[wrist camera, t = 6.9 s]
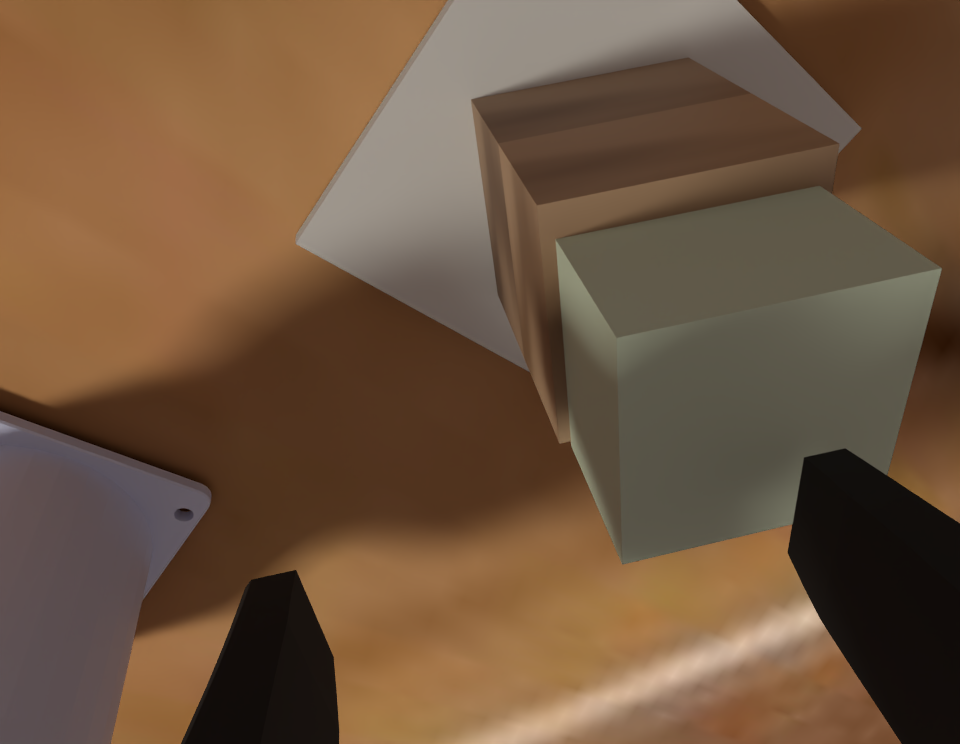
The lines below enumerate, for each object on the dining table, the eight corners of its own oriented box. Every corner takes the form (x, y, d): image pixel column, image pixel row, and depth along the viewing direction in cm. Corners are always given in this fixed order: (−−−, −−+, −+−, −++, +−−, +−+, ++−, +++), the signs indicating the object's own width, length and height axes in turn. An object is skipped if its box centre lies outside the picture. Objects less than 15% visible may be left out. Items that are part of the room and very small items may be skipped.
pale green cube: (788, 397, 15) (879, 503, 13) (571, 446, 15) (622, 564, 12) (819, 185, 12) (942, 268, 10) (555, 238, 12) (616, 337, 10)
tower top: (734, 312, 17) (802, 388, 15) (524, 358, 17) (559, 443, 15) (751, 93, 15) (840, 143, 12) (498, 143, 14) (536, 205, 12)
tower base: (683, 255, 20) (734, 312, 17) (497, 294, 20) (524, 358, 17) (688, 57, 17) (751, 93, 15) (470, 99, 17) (498, 143, 14)
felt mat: (593, 399, 23) (598, 409, 22) (295, 234, 18) (295, 243, 18) (850, 122, 19) (861, 128, 19) (559, -174, 14) (567, -174, 14)
